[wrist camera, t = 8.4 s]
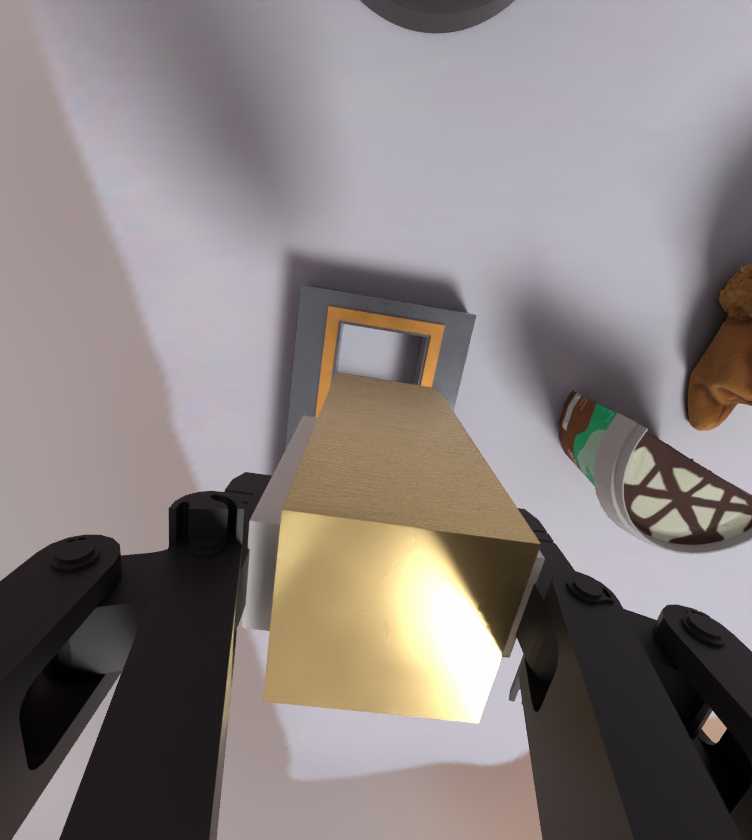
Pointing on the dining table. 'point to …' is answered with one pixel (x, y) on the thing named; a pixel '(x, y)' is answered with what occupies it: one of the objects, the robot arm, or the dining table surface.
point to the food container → (652, 483)
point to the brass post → (394, 561)
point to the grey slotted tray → (333, 308)
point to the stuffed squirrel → (725, 359)
